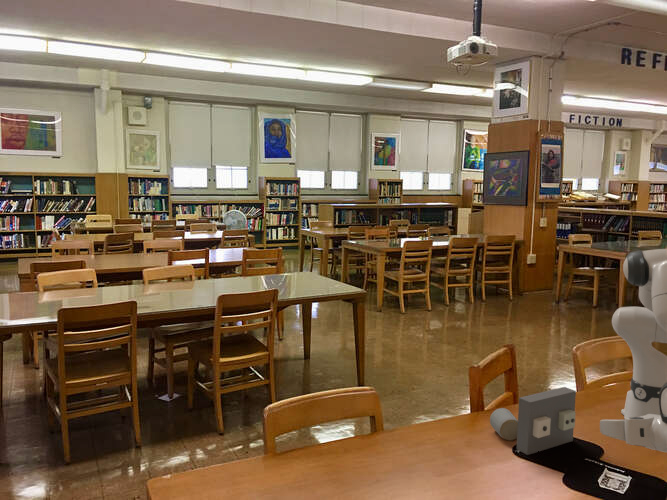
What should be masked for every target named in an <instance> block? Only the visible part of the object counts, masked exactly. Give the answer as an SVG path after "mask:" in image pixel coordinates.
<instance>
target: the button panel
mask: <svg viewBox="0 0 667 500" xmlns="http://www.w3.org/2000/svg"><path fill="white" fill-rule="evenodd" d="M576 393H577V391H576V390H574V389H571V388H569V387H566V386H563V387H559V388H554V389H550V390H546V391H541V392H537V393H534V394H528V395H525V396H521V397H518V411H517V413H518V415H517V420H518V430H517V438H516V450H518V451H519V452H521V453H523V454H525V455H526V456H529V455H531V454H532V455H533V454H536V453H538V451H539V452H541V451H544V450H548V449H551V448H554V447H558V446H561V445H564V444H567V443H572V442H573V440H574V429H575V427H574V428H571V429H568V430H564V431H563V430H561V429H559V428H558V416H559V412H560V411H563V410H567V409H570V410H573V411H575V410H576V396H577V395H576ZM575 412H576V411H575ZM541 416H546V417H549V418H551V423H550V435H547V436H544V437H541V438H536V437H534V436H533V435H532V431H533V418H537V417H541Z"/></svg>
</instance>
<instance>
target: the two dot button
mask: <svg viewBox="0 0 667 500" xmlns="http://www.w3.org/2000/svg"><path fill="white" fill-rule="evenodd" d="M576 413H577V412H576V411H573V410H570V409H567V410H563V411H560V412H559V416H558V428H559V429H561V430H563V431H564V430H568V429H571V428H574V429H575V426H576Z"/></svg>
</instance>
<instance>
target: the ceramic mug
mask: <svg viewBox="0 0 667 500" xmlns="http://www.w3.org/2000/svg"><path fill="white" fill-rule="evenodd" d="M489 417H490V418H489V424H490V426H491V428H492V429H493V430H494V431H495V432H496V433H497V434H498V435H499V436H500V437H501V438H502V439H504V440H506V441H513V440H517V430H518V418H516V417H515V416H514V415H513V413H512V412H511V411H510V409H507V408H505V407H501V408H500V407H499V408H497V409H495V410H494V411H493V412H492V413H491V414H490V416H489Z"/></svg>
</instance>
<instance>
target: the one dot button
mask: <svg viewBox="0 0 667 500" xmlns="http://www.w3.org/2000/svg"><path fill="white" fill-rule="evenodd" d="M550 423H551V418H549V417H546V416H541V417H537V418H533V431H532V435H533V436H534V437H536V438H541V437H544V436H547V435H550Z"/></svg>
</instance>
